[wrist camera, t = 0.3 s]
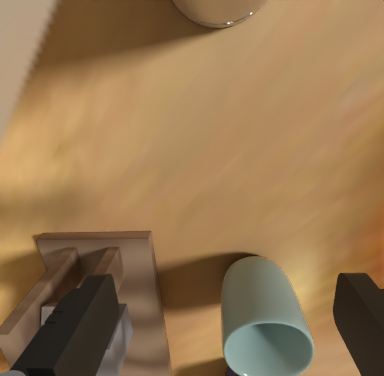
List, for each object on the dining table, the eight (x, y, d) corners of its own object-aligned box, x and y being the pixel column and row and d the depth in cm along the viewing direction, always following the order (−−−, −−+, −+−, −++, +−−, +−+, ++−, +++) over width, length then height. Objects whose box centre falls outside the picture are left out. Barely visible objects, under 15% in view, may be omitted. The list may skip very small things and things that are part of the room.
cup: (287, 294, 33) (316, 380, 23) (224, 299, 34) (228, 384, 25) (284, 241, 30) (315, 317, 20) (214, 249, 31) (215, 324, 22)
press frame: (43, 233, 32) (-53, 324, 20) (151, 231, 30) (113, 327, 19) (88, 365, 41) (39, 478, 30) (171, 368, 40) (154, 487, 28)
